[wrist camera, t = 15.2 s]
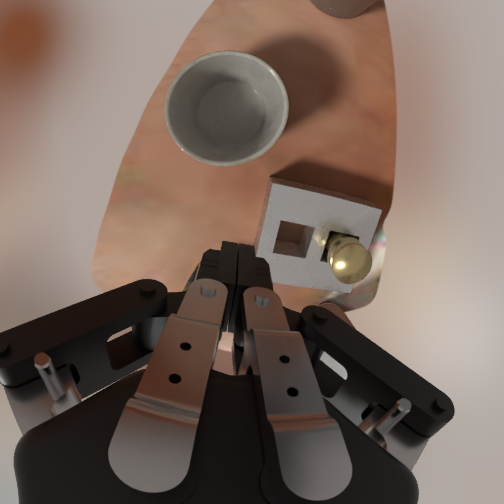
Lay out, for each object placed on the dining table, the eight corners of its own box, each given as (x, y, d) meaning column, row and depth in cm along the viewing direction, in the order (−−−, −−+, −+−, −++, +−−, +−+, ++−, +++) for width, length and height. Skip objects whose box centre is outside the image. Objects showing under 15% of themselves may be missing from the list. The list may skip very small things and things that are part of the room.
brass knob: (320, 216, 40) (341, 243, 31) (351, 223, 41) (378, 250, 32) (311, 247, 43) (327, 281, 34) (341, 253, 43) (363, 286, 34)
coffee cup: (287, 328, 50) (296, 377, 39) (316, 287, 46) (335, 334, 35) (330, 341, 52) (345, 386, 41) (360, 304, 48) (383, 348, 37)
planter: (295, 104, 33) (313, 96, 24) (241, 173, 37) (240, 189, 28) (221, 55, 30) (212, 31, 20) (168, 126, 34) (142, 126, 24)
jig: (269, 176, 37) (272, 183, 33) (368, 200, 39) (382, 210, 35) (250, 262, 43) (250, 278, 39) (341, 276, 45) (350, 293, 41)
